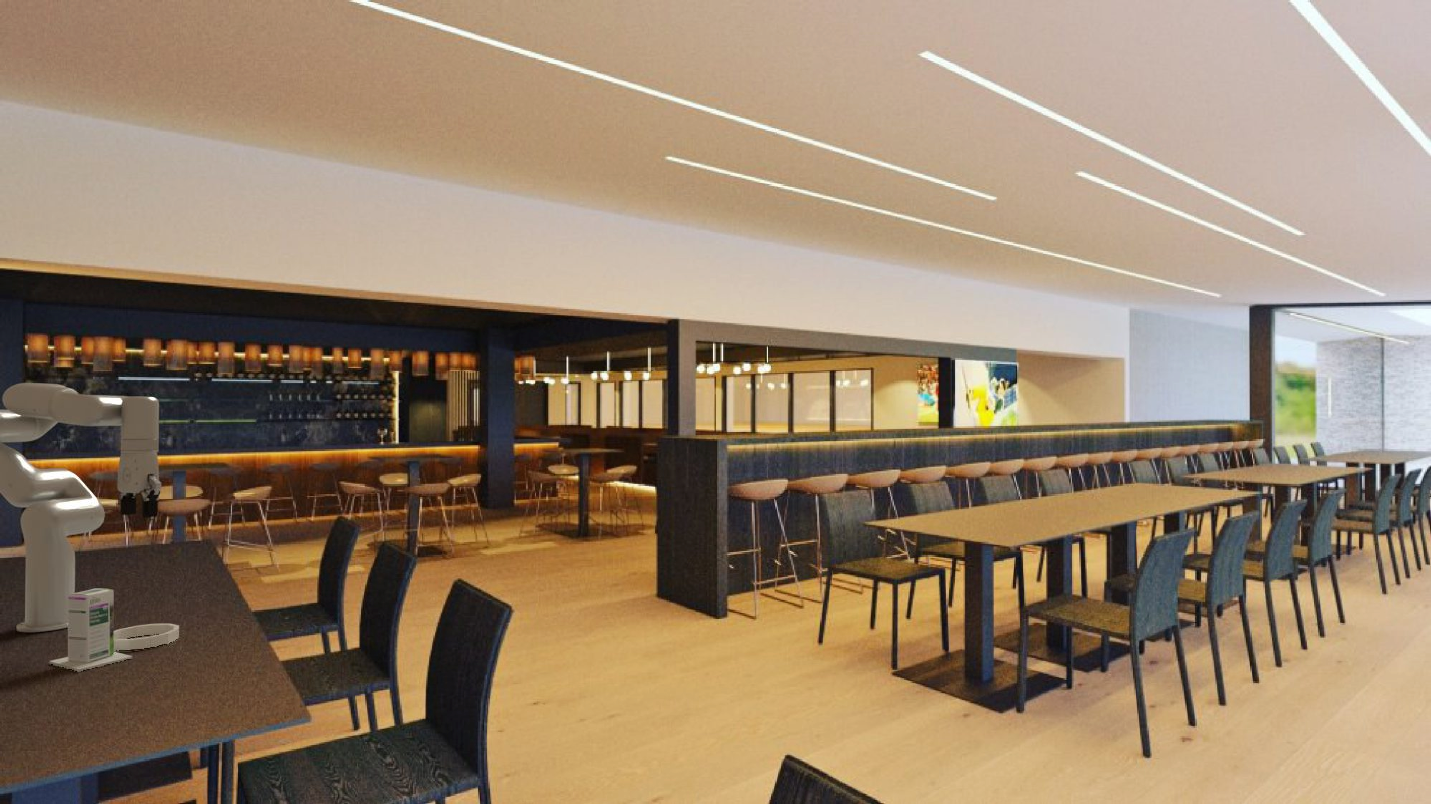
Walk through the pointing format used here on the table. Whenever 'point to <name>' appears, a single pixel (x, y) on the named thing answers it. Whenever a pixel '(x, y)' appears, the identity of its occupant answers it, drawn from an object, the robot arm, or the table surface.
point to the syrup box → (90, 625)
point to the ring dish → (165, 637)
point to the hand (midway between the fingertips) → (138, 515)
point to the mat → (96, 663)
